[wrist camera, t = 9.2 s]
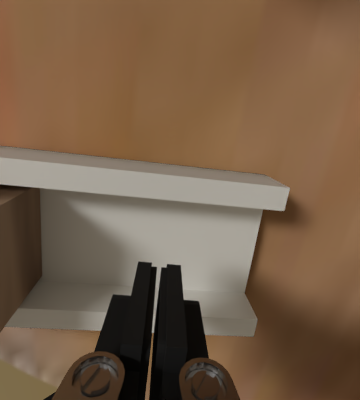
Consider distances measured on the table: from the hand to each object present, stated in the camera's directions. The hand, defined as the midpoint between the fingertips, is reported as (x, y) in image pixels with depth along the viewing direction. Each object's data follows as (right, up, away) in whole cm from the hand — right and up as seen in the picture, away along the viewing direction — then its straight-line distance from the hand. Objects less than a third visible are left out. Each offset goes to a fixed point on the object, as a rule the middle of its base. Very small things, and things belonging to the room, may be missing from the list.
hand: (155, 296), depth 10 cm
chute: (-4, +2, +6) cm, 7 cm away
